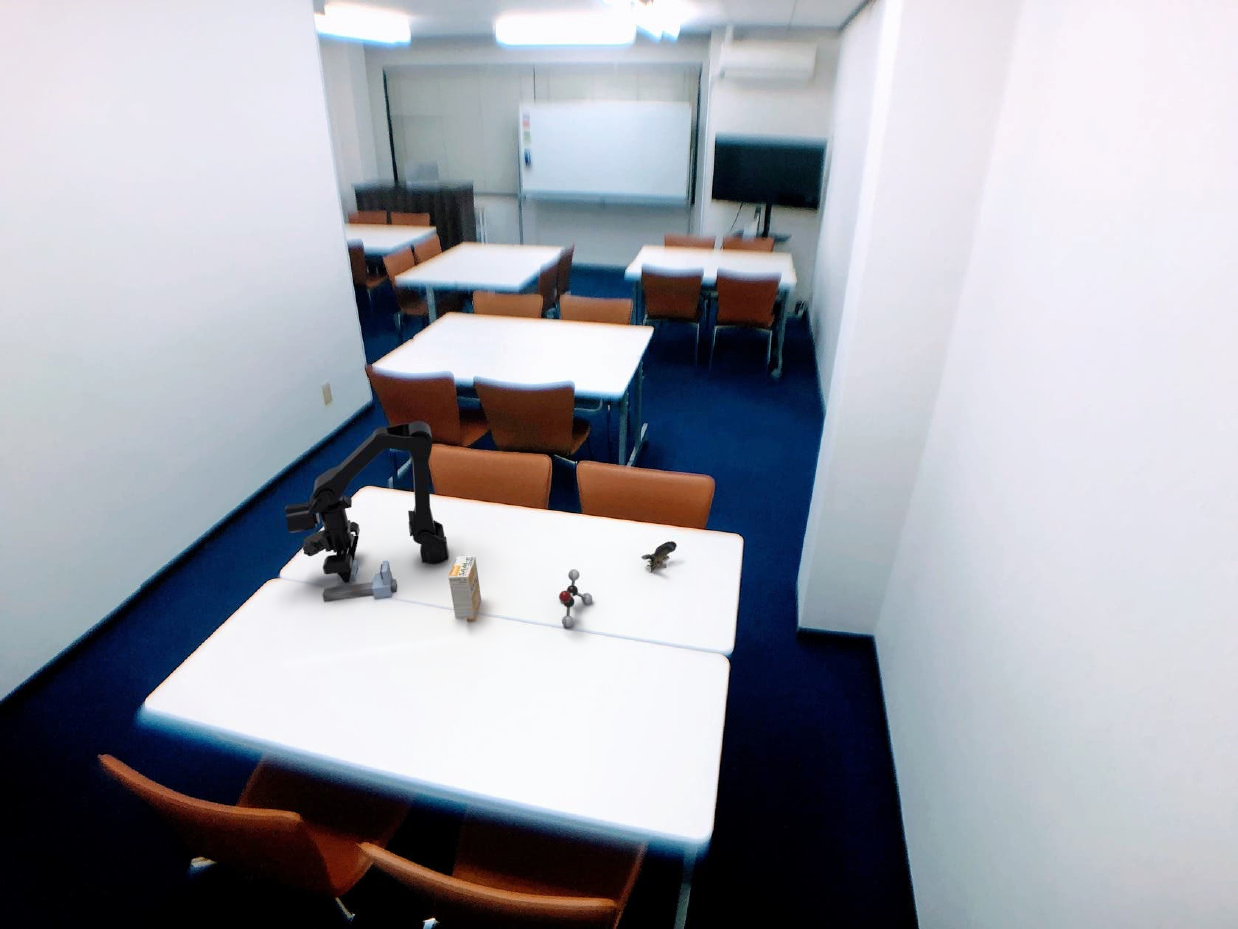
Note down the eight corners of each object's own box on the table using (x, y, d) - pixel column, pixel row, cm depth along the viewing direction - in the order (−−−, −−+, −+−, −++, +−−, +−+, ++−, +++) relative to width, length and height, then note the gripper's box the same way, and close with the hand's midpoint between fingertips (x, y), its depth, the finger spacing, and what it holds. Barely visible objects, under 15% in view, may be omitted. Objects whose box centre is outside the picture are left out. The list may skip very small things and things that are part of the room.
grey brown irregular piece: (671, 575, 175) (683, 550, 181) (655, 555, 173) (668, 531, 179) (649, 580, 180) (661, 556, 186) (633, 560, 178) (646, 537, 184)
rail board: (400, 579, 177) (398, 569, 175) (398, 601, 169) (396, 592, 168) (327, 589, 174) (324, 579, 172) (321, 612, 166) (318, 602, 165)
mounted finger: (393, 581, 174) (388, 558, 171) (391, 596, 169) (386, 573, 166) (377, 583, 174) (371, 560, 170) (374, 599, 169) (369, 575, 165)
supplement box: (475, 621, 162) (468, 577, 156) (455, 621, 162) (447, 577, 156) (482, 598, 170) (476, 555, 163) (462, 598, 170) (456, 555, 163)
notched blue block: (359, 569, 181) (353, 547, 177) (356, 584, 175) (350, 561, 172) (343, 572, 180) (337, 549, 176) (339, 586, 175) (333, 563, 171)
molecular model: (593, 599, 169) (591, 564, 164) (583, 633, 158) (582, 597, 153) (560, 596, 170) (558, 562, 165) (549, 630, 160) (546, 594, 154)
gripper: (308, 507, 176) (321, 557, 184) (293, 549, 160) (309, 601, 168) (353, 502, 178) (365, 551, 186) (343, 543, 162) (356, 595, 170)
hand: (348, 574), depth 177 cm, fingers open, 7 cm apart
